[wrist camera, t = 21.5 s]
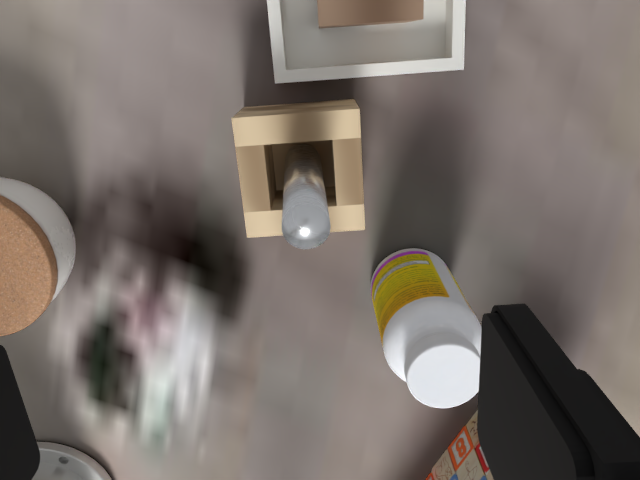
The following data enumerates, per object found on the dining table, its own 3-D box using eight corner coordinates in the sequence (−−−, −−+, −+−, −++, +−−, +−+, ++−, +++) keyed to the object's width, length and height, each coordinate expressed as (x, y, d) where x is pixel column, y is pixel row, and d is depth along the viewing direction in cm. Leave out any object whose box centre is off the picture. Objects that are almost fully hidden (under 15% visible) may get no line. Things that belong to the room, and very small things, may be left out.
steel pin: (278, 153, 38) (272, 217, 27) (310, 137, 38) (317, 196, 27) (295, 183, 39) (295, 256, 28) (326, 168, 39) (338, 236, 28)
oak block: (257, 210, 41) (247, 237, 35) (244, 106, 38) (231, 118, 32) (358, 203, 41) (364, 229, 35) (353, 98, 38) (359, 108, 32)
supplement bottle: (353, 291, 43) (366, 387, 31) (403, 230, 41) (438, 307, 29) (415, 331, 45) (451, 439, 33) (467, 274, 43) (525, 365, 31)
